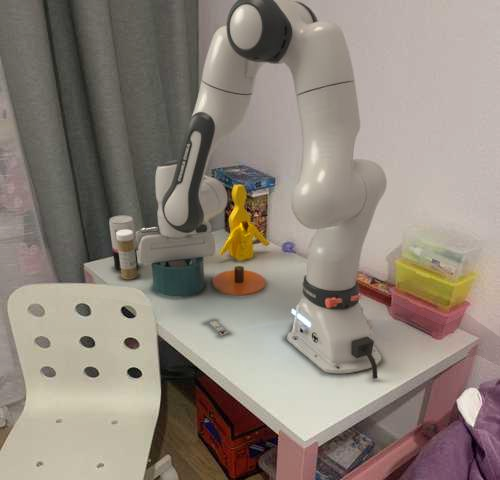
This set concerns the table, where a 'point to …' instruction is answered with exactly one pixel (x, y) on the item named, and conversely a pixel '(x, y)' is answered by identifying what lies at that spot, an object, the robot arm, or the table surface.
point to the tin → (178, 278)
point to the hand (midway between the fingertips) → (178, 273)
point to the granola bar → (219, 328)
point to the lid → (239, 282)
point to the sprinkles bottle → (127, 254)
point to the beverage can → (116, 225)
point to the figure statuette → (241, 228)
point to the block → (177, 264)
